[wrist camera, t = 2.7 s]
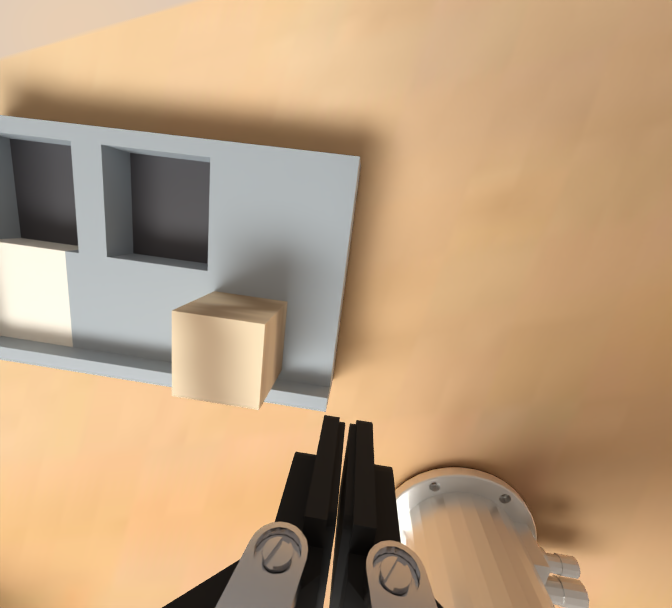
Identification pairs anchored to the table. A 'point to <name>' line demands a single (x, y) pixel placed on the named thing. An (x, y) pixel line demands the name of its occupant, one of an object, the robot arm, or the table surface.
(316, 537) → the robot arm
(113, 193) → the board
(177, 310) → the maple cube
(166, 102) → the table surface
